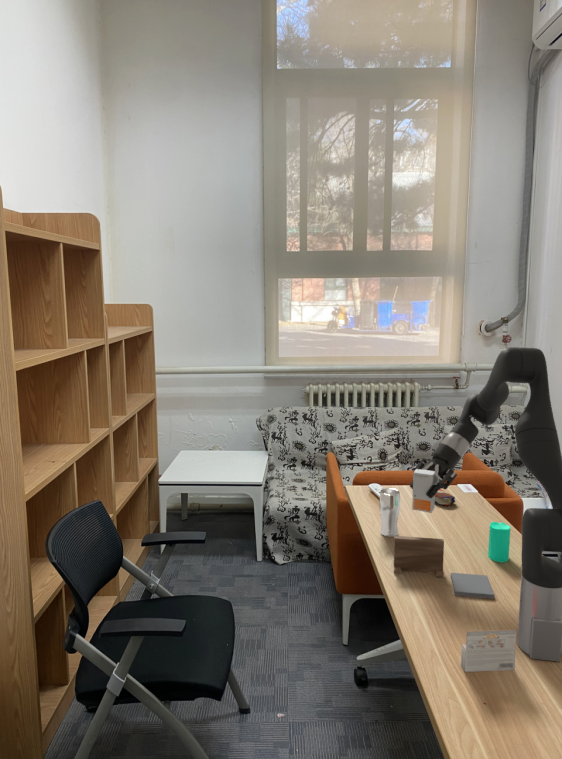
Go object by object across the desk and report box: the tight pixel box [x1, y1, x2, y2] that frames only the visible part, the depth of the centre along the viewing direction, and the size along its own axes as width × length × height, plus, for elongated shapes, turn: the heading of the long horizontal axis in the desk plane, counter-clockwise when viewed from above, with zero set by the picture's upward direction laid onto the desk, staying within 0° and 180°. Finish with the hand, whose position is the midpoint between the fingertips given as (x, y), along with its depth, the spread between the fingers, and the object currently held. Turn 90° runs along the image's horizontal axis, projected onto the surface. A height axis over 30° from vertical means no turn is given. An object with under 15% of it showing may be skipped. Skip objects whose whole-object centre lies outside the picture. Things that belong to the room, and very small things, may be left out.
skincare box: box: [411, 469, 436, 514], centre depth 159 cm, size 6×4×12 cm
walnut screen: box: [393, 535, 445, 578], centre depth 154 cm, size 6×14×10 cm, turn 79°
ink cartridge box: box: [460, 629, 518, 673], centre depth 113 cm, size 2×11×10 cm, turn 92°
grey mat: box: [450, 572, 495, 600], centre depth 146 cm, size 10×10×1 cm
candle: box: [487, 520, 511, 563], centre depth 161 cm, size 6×6×12 cm
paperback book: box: [435, 488, 456, 506], centre depth 210 cm, size 11×20×5 cm, turn 13°
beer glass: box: [379, 487, 401, 538], centre depth 179 cm, size 7×7×15 cm
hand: (419, 492), depth 158 cm, fingers closed on skincare box, 7 cm apart
